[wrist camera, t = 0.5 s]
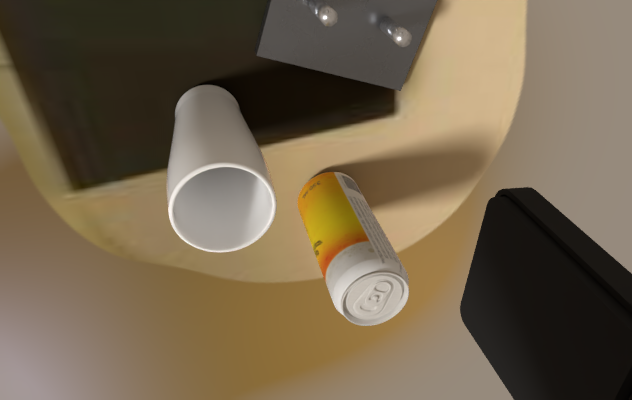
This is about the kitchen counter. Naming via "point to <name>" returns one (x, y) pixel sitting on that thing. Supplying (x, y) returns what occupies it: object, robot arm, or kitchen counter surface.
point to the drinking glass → (217, 174)
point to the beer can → (352, 250)
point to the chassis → (346, 36)
